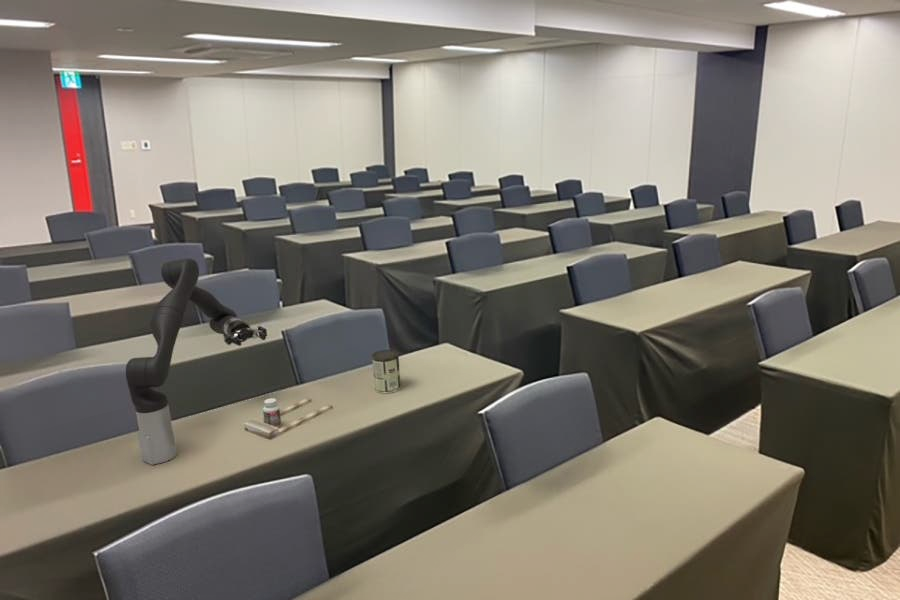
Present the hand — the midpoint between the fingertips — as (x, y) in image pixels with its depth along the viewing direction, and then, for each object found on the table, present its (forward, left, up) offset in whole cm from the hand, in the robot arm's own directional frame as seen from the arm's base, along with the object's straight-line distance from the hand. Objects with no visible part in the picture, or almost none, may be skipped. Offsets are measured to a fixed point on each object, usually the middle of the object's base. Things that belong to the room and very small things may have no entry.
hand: (252, 340), depth 220 cm
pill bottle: (-5, -12, -28) cm, 31 cm away
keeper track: (+3, -12, -28) cm, 31 cm away
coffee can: (+41, -24, -28) cm, 55 cm away
